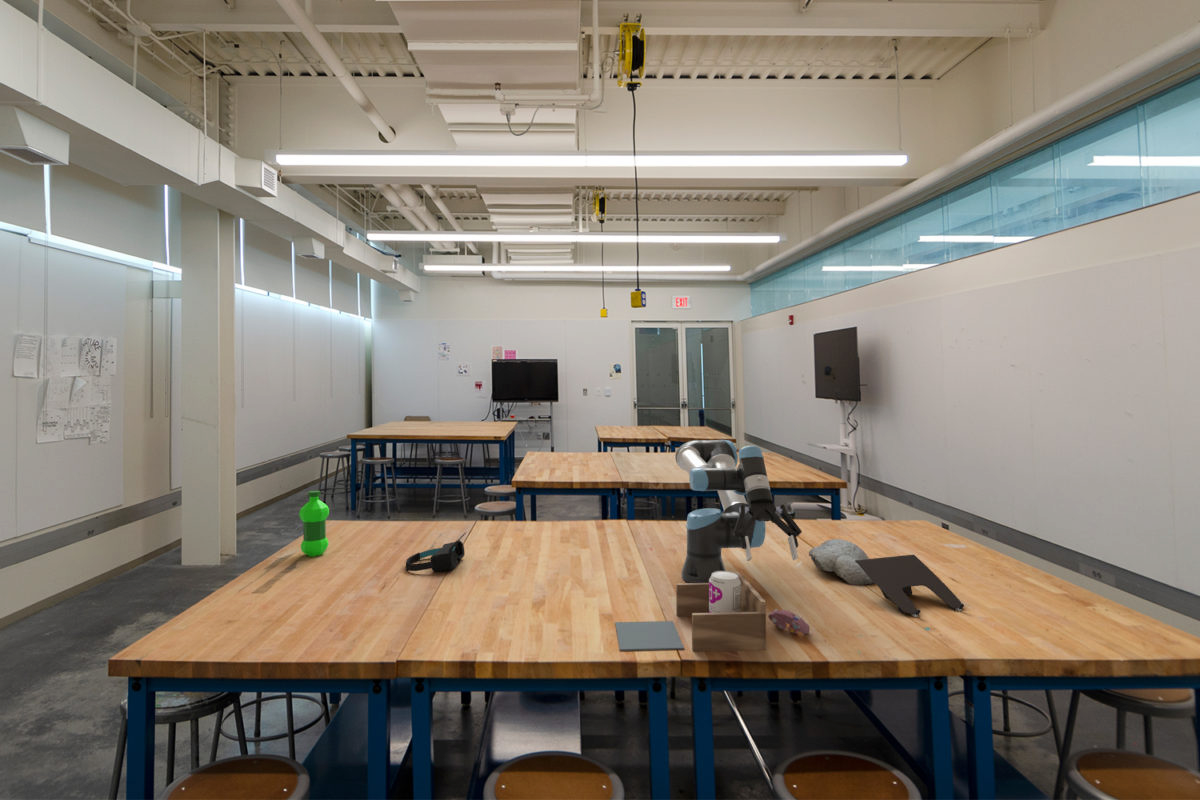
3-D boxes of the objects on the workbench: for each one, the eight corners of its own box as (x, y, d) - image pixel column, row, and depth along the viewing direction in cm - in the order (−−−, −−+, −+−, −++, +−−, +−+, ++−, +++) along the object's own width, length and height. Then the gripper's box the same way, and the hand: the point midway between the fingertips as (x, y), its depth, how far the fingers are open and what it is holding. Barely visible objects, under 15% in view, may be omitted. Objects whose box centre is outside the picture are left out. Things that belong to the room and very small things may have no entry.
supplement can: (718, 639, 143) (718, 581, 143) (704, 626, 151) (704, 571, 151) (746, 635, 145) (746, 578, 145) (730, 622, 153) (730, 568, 153)
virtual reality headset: (459, 571, 195) (454, 543, 195) (399, 580, 196) (394, 553, 195) (472, 554, 214) (468, 529, 214) (417, 563, 214) (413, 538, 214)
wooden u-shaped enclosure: (676, 614, 159) (676, 573, 158) (739, 613, 159) (739, 571, 159) (693, 651, 136) (693, 603, 136) (765, 649, 137) (765, 601, 137)
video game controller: (770, 632, 151) (764, 612, 148) (777, 620, 154) (772, 600, 151) (805, 643, 144) (799, 623, 141) (812, 631, 146) (807, 610, 144)
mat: (615, 623, 153) (615, 622, 153) (672, 622, 153) (672, 620, 153) (619, 650, 137) (619, 649, 137) (684, 649, 137) (684, 647, 137)
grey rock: (876, 588, 180) (877, 560, 180) (807, 579, 188) (807, 553, 188) (870, 563, 206) (870, 538, 206) (809, 556, 214) (809, 532, 214)
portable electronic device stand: (897, 635, 158) (909, 612, 154) (847, 576, 178) (856, 555, 174) (961, 626, 164) (974, 604, 160) (906, 570, 184) (916, 549, 180)
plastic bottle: (293, 557, 215) (293, 493, 214) (315, 549, 225) (314, 488, 225) (314, 559, 212) (313, 494, 212) (335, 551, 222) (334, 489, 222)
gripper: (721, 487, 169) (733, 555, 157) (801, 486, 170) (819, 553, 158) (716, 497, 175) (727, 564, 163) (793, 496, 176) (810, 562, 164)
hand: (772, 559), depth 160 cm, fingers open, 13 cm apart
